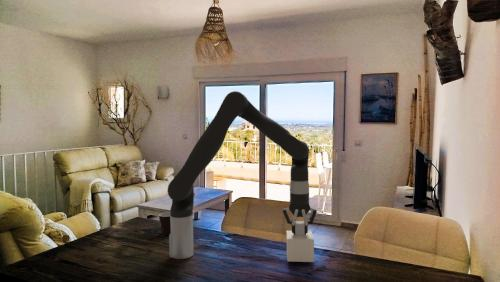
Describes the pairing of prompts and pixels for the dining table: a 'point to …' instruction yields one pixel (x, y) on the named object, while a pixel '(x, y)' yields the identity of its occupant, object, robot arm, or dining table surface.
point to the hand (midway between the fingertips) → (299, 233)
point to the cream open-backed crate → (300, 244)
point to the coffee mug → (165, 223)
